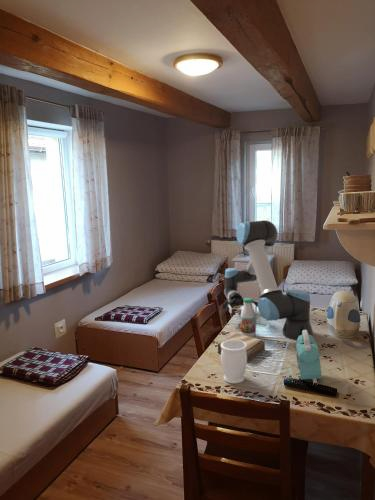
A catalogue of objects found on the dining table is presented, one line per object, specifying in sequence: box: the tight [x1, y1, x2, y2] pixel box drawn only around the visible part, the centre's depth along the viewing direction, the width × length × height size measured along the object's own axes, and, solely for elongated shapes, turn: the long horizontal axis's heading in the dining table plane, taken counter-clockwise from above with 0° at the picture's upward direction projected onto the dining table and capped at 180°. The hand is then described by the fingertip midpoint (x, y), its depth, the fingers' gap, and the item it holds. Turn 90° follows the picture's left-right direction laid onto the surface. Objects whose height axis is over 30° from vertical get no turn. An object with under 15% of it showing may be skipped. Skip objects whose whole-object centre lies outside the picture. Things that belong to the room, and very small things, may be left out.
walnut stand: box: [217, 332, 266, 363], centre depth 185 cm, size 16×16×5 cm
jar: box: [220, 339, 248, 384], centre depth 159 cm, size 11×10×15 cm
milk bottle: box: [240, 297, 257, 338], centre depth 202 cm, size 8×8×20 cm
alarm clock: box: [296, 330, 323, 384], centre depth 157 cm, size 17×10×20 cm, turn 168°
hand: (243, 310), depth 210 cm, fingers open, 13 cm apart
